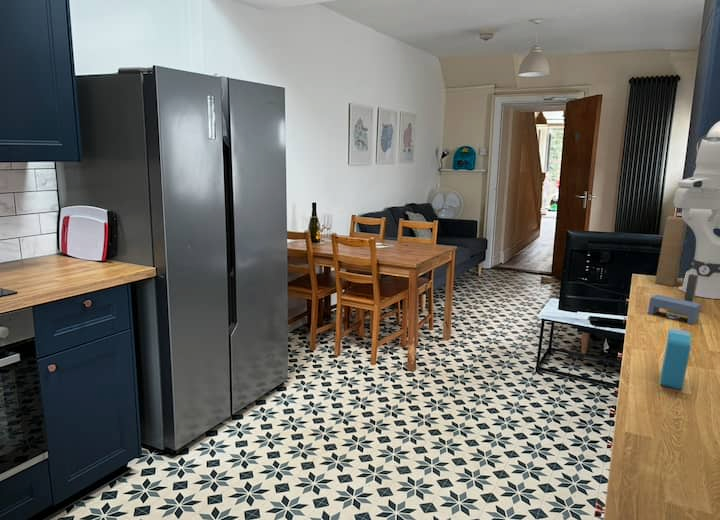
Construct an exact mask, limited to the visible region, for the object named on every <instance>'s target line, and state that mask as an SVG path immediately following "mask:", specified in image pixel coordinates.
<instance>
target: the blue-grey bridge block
mask: <svg viewBox="0 0 720 520" xmlns="http://www.w3.org/2000/svg"><path fill="white" fill-rule="evenodd" d="M701 307H702V303H698V302H695V301H694V302H690V301H685V300H684V299H679V298H676V297H670V296H666V295H661V294H655V295H653V296H651V297H650V298H649V305H648V310H647V314H648V315H652V316H653V315H654V314H656V313H658V312H659V311H660V309H662V310H666V311H667V310H670V311H675V312H679V313H683V314H688V315H689V316H687V323H686V324H688V323H689V325H694V324H695V323H697V322H698V321H699V318H700V313H701Z"/></svg>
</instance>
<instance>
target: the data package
mask: <svg viewBox="0 0 720 520" xmlns="http://www.w3.org/2000/svg"><path fill="white" fill-rule="evenodd" d="M691 336H692V335H691V332H690V331H686V330H685V331H684V330H680V329H676V328H669V329H668V334H667V339H666V344H665V345H666V346H665V349H664V355H663V361H662V366H661V372H660V373H661V374H660V375H661V376H660V385H661V386H664V387H667V388H671V389H677V390H683V388H684V383H685V378H686V374H687V368H688V363H689V359H690V353H691V349H692V339H691Z"/></svg>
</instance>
